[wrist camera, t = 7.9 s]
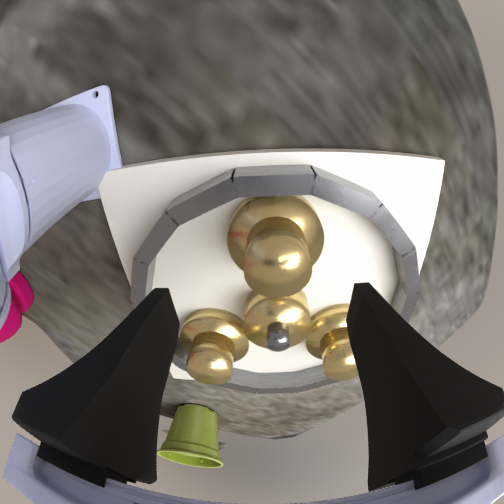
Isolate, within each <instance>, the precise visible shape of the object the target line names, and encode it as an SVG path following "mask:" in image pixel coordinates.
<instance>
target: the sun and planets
mask: <svg viewBox="0 0 504 504" xmlns="http://www.w3.org/2000/svg"><path fill="white" fill-rule="evenodd" d="M349 305H350V304H348V303H343V304H336V305H332V306H329V307H326V308H324V309H322V310H320V311H318V312H317V313H315V314H314V315H313V316H312V317H311V318H310V311H309V305H308V299H307V296H306V295H305V293H304V292H303V291H302V290H301V291H300V292H298V293H296V294H294V295H292V296H289V297H285V298H269V297H265V296H262V295H260V294H258V293H256V292H255V291H252V292H251V293H250V294H249V295H248V297H247V299H246V304H245V316H244V320H242V319H241V318H240V317H239V316H237V315H235V314H234V313H231V312H229V311H226V310H222V309H216V308H205V309H200V310H196V311H194V312H192V313H190V314H189V315H188V316H187V317H186V318H185V320H184V323H183V326H182V330H181V333H180V343H181V345H182V347H183V348H184V350H185V351H186V352H187V353H189V354H190V356H189V361H188V365H187V373H188V374H189V375H190V376H191V377H192V378H193V379H195V380H197V381H199V382H202V383H206V384H214V385H216V384H223V383H226V382H228V381H229V380H230V379H231V377H232V369H233V362H236V361H238V360H240V359H242V358H243V357H244V356H245V355H246V354H247V352H248V349H249V340H250V341H251V342H252V343H254V344H255V345H257V346H260V347H263V348H267V349H269V350H271V351H275V352H280V351H284V350H286V349H288V348H290V347H293V346H295V345H297V344H299V343H301V342H302V341H304V340H305V341H306V348H307V350H308V352H309V353H310V354H311V355H312V356H314V357H316V358H318V359H322V360H323V367H324V374H325V376H326V377H327V378H329V379H331V380H347V379H351V378H354V377H356V376H358V375H359V374H358V370H357V367H356V363H355V360H354V356H353V353H352V349H351V346H350V342H349V336H348V330H347V324H346V317H347V313H348V309H349Z"/></svg>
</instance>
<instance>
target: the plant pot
mask: <svg viewBox="0 0 504 504" xmlns="http://www.w3.org/2000/svg"><path fill="white" fill-rule="evenodd" d="M157 454H158V455H159V456H161V457H163V458H165V459H167V460H170V461H174V462H177V463H180V464H184V465H189V466H196V467H204V468H218V467H222V466H223V462H222V461H221V456H220V453H219V447H218V431H217V414H216V412H215V411H210V410H209V409H208V408H207V407H204V406H201V405H195V404H185V405H184V406H178V408H177V411H176V414H175V416H174V419H173V422H172V425H171V427H170V430H169V432H168V435H167V438H166V440H165V442H164V443H163V444H162V447H161V449H160V450H158V451H157Z"/></svg>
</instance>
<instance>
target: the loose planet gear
mask: <svg viewBox="0 0 504 504" xmlns="http://www.w3.org/2000/svg"><path fill="white" fill-rule="evenodd" d="M227 246H228V250H229V253H230V256H231V258H232V260H233V261H234V262H235V264H236V265H237V266H238V267H239V268H240V269H241V270H242V271H244V278H245V281H246V282H247V284H248V286H249V287H250V288H251V289H252V290H253V291H255V292H256V293H258V294H260V295H262V296H265V297H269V298H285V297H289V296H292V295H294V294H296V293H298V292H300V291H301V290H302V289H303V288H304V287H305V286H306V285H307V284H308V282H309V281H310V279H311V276H312V266H313V265H314V264H315V263H316V262H317V260H318V259H319V257H320V255H321V253H322V250H323V246H324V230H323V227H322V224H321V222H320V219H319V217H318V214H317V212H316V210H315V209H314V207H313V206H312V204H311V203H310V202H309V201H308V200H307V199H305V198H304V197H303V196H301V195H292V196H264V197H247V198H245V199H244V200H243V201H242V202H241V203H240V204H239V205H238V206H237V208H236V209H235V211H234V213H233V215H232V217H231V221H230V225H229V230H228V234H227Z"/></svg>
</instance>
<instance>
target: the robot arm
mask: <svg viewBox="0 0 504 504" xmlns="http://www.w3.org/2000/svg"><path fill="white" fill-rule="evenodd" d="M97 91H98V93H99V96H98V97H96V92H97ZM121 167H123V165H122V160H121V155H120V150H119V144H118V139H117V133H116V127H115V121H114V114H113V107H112V100H111V92H110V88H109V87H108V86H106V85H103V86H99V87H96V88H93V89H91V90H88V91H85V92H83V93H80V94H78V95H75V96H73V97H71V98H68V99H66V100H64V101H61V102H59V103H57V104H55V105H53V106H50V107H48V108H46V109H44V110H42V111H39V112H35V113H32V114H28V115H25V116H22V117H18V118H15V119H12V120H9V121H6V122H3V123H1V124H0V329H1V328H2V326H3V324H4V323H5V321H6V319H7V316H8V313H9V309H10V304H11V291H10V286H9V281H10V280H11V279H12V278H13V276H14V275H15V274H16V273H17V272H18V271H19V270H20V264H19V262H20V257H21V256H22V254H23V253H24V252H25V251H26V250H27V249H28V248H29V247H30V246H31V245H32V244H33V243H34V242H36V241H37V240H38V239H39V238H40V237H41V236H42V235H43V234H44V233H45V232H46V231H47V230H48V229H50V228H51V227H52V226H53V225H54V224H55V223H56V222H57V221H59V220H60V219H61V218H62V217H63V216H64V215H66V214H67V213H68V212H69V211H70V210H72V209H73V208H74V207H75V206H76V205H78V204H79V203H80V202H82V201H88V200H94V199H100V198H101V196H100V193H99V189H98V187H99V185H100V183H101V182H102V180H103V178H104V175H105V173H106V171H108V170H112V169H117V168H121ZM346 324H347V330H348V336H349V342H350V346H351V349H352V353H353V356H354V360H355V363H356V367H357V370H358V374H359V378H360V381H361V385H362V389H363V394H364V400H365V407H366V416H367V427H368V446H369V468H368V490H369V492H368V493H364V494H359V495H354V496H350V497H344V498H337V499H331V500H324V501H315V502H305V503H293V504H492V503H493V502H494V501H496V500H497V499H498V498H500V497H501V496H502V495H504V435H503V436H501V437H499V438H498V439H496V440H494V441H493V442H491V443H490V444H488V445H486V446H485V443H484V440H486V439H487V438H488V435H487V432H486V430H487V429H489V428H490V427H491V426H492V425H494V424H495V423H496V422H497V421H499V420H500V419H501V418H502V417H503V416H504V392H503V389H502V388H500V387H498V386H496V385H494V384H492V383H490V382H488V381H486V380H484V379H482V378H480V377H478V376H476V375H474V374H473V373H471V372H469V371H468V370H466V369H464V368H463V367H461V366H459V365H458V364H457V363H455V362H454V361H452V360H451V359H450V358H448V357H447V356H445V355H444V354H443V353H441V352H440V351H439V350H438V349H436V348H435V347H434V346H433V345H431V344H430V343H429V342H428V341H427V340H426V339H424V338H423V337H422V336H421V335H420V334H419V333H418V332H417V331H416V330H415V329H414V328H412V327H411V326H410V325H409V324H408V323H407V322H406V321H405V320H404V319H403V318H402V317H401V316H400V315H399V314H398V313H397V312H396V311H395V309H394V308H393V307H392V306H391V305H390V304H389V303H388V302H387V301H386V300H385V299H384V298H383V297H382V296H381V295H380V293H379V292H378V291H377V290H376V289H375V288H374V287H373V286H372V285H371V284H370V283H369V282H364V283H354V287H353V291H352V296H351V300H350V305H349V309H348V313H347V317H346ZM179 328H180V322H179V319H178V316H177V313H176V310H175V307H174V304H173V300H172V297H171V294H170V291H169V288H154V289H153V290H152V291H151V292H150V293H149V294H148V295H147V296H146V297H145V298H144V299H143V300H142V301H141V302H140V304H139V305H138V306H137V307H136V308H135V309H134V310H133V311H132V312H131V313H130V314H129V315H128V316H127V317H126V318H125V319H124V320H123V321H122V322H121V323H120V324H119V325H118V326H117V327H116V328H115V329H114V330H113V331H112V332H111V333H110V334H109V335H108V336H107V337H106V338H105V339H104V340H103V341H102V342H101V343H99V344H98V345H97V346H96V347H95V348H94V349H92V350H91V351H90V352H89V353H87V354H86V355H85V356H84V357H82V358H81V359H79V360H78V361H77V362H75V363H74V364H72V365H71V366H70V367H68V368H67V369H65V370H64V371H62V372H61V373H59V374H57V375H56V376H54V377H52V378H50V379H49V380H47V381H45V382H43V383H41V384H39V385H37V386H35V387H33V388H31V389H28V390H26V391H24V392H22V394H21V396H20V398H19V401H18V403H17V405H16V408H15V411H14V413H13V415H12V419H13V420H14V421H15V422H16V423H17V424H18V425H20V426H21V427H22V428H23V429H25V430H26V431H27V432H29V433H30V434H31V435H33V436H34V437H36V438H37V439H38V440H40V441H41V444H40V446H38V445H37V444H35V443H33V442H32V441H30V440H28V439H26V438H25V437H23V436H22V435H20V434H18V433H17V434H16V436H15V439H14V442H13V445H12V448H11V451H10V454H9V457H8V460H7V464H6V467H5V470H4V474H3V478H4V479H5V480H6V481H7V482H9V483H10V484H11V485H12V486H14V487H15V488H16V489H17V490H19V491H20V492H21V493H22V494H24V495H25V496H26V497H28V498H29V499H30V500H31V501H32V502H34V503H35V504H234V503H220V502H210V501H202V500H195V499H189V498H182V497H177V496H172V495H167V494H162V493H157V492H153V491H149V490H145V489H142V488H138V487H134V486H131V485H127V481H129V482H132V483H136V481H139V482H143V483H147V484H152V483H154V482H155V481H156V480H157V471H156V454H157V434H158V425H159V416H160V409H161V402H162V396H163V392H164V388H165V384H166V381H167V377H168V374H169V370H170V367H171V363H172V360H173V357H174V353H175V350H176V346H177V340H178V334H179ZM393 485H395V486H393ZM390 486H392V487H390ZM386 487H388V488H386ZM382 488H385V489H382ZM378 489H381V490H378ZM374 490H377V491H374ZM370 491H373V492H370Z"/></svg>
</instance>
